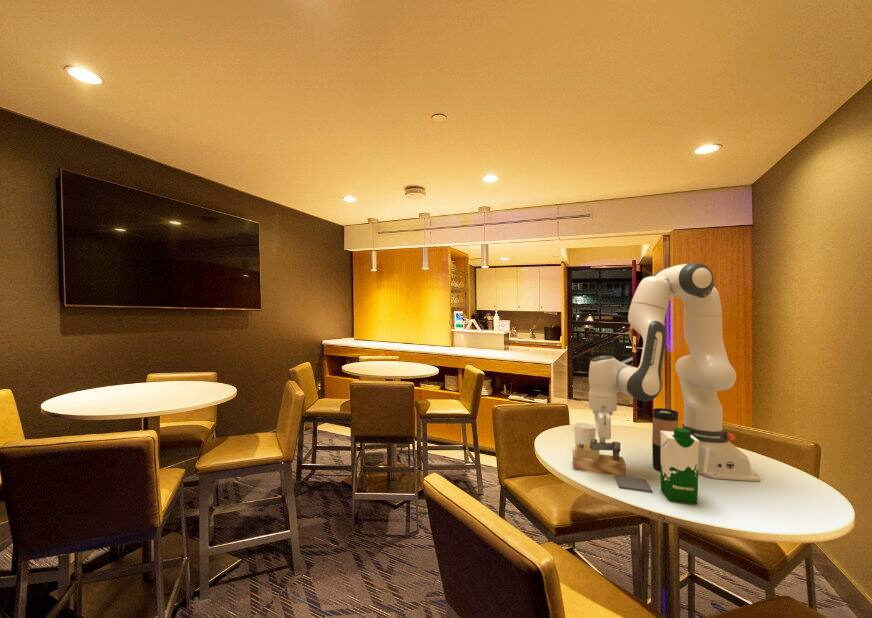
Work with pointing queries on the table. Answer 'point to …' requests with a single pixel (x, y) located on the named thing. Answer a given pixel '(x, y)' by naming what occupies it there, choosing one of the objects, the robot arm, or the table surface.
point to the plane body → (601, 464)
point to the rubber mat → (633, 483)
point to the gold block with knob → (586, 452)
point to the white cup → (584, 433)
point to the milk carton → (679, 466)
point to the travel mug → (661, 422)
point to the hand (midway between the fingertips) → (602, 444)
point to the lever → (604, 446)
